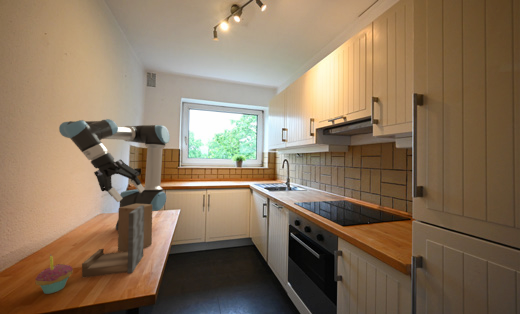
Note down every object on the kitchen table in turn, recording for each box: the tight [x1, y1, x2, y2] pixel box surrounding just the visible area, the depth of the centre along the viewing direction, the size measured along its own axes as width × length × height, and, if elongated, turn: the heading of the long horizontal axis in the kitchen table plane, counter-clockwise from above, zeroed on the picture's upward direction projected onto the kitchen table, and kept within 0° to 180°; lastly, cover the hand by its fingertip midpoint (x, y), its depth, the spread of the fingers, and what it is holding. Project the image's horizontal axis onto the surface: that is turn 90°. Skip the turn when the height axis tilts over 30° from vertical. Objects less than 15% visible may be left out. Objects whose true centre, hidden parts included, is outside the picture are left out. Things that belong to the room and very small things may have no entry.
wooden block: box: [117, 204, 153, 252], centre depth 96 cm, size 10×10×20 cm
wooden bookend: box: [81, 205, 144, 279], centre depth 79 cm, size 14×16×22 cm
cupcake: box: [35, 253, 74, 295], centre depth 65 cm, size 9×8×12 cm
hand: (131, 195), depth 91 cm, fingers open, 13 cm apart
